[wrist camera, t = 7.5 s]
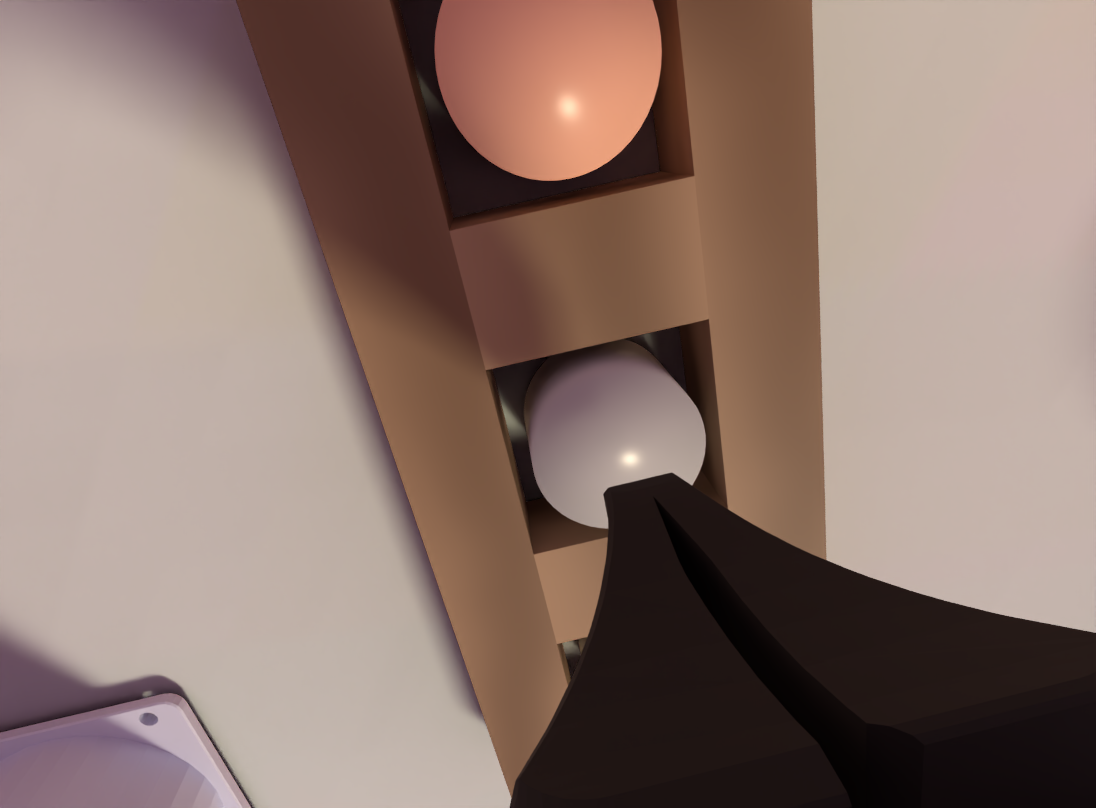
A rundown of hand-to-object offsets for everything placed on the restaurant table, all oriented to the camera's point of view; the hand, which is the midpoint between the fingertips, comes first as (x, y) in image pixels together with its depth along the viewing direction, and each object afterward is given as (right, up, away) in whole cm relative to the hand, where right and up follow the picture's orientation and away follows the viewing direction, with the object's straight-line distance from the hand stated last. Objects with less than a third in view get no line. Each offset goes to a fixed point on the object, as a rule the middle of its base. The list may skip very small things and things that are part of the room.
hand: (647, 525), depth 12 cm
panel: (-1, +2, +5) cm, 6 cm away
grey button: (0, +2, +5) cm, 5 cm away
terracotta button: (-2, +9, +2) cm, 10 cm away
